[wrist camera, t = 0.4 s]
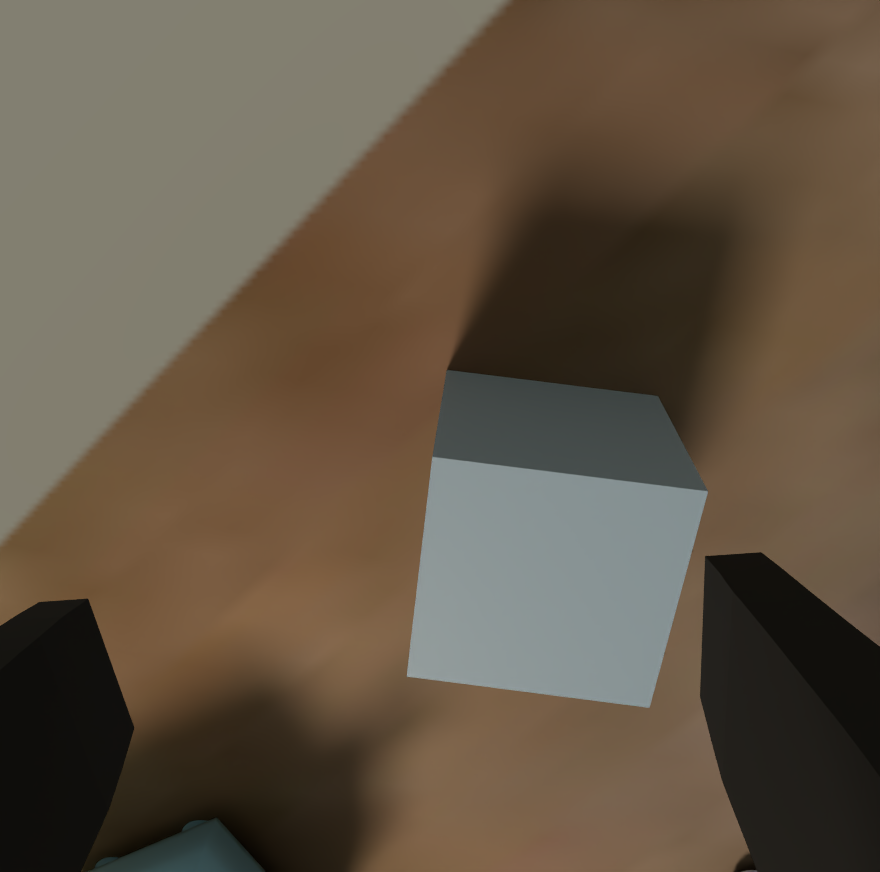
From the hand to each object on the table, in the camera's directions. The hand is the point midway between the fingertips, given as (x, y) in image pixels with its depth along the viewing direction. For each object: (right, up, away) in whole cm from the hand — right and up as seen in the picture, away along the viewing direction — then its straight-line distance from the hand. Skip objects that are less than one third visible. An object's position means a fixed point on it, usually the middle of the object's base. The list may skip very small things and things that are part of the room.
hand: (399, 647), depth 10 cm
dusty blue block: (+3, +2, +11) cm, 11 cm away
